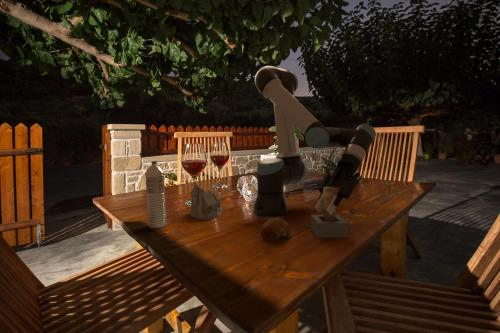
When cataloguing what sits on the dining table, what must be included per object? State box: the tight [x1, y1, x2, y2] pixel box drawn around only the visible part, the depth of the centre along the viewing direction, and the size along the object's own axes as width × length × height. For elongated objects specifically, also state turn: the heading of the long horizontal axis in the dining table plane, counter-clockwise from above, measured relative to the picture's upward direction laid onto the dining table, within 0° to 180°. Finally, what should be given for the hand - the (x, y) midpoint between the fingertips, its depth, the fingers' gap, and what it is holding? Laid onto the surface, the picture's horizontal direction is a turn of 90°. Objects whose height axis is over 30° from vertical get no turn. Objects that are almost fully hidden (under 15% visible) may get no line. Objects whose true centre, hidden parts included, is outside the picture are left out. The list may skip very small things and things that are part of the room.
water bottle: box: [144, 160, 167, 230], centre depth 107 cm, size 7×7×25 cm
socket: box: [310, 213, 349, 239], centre depth 99 cm, size 10×10×5 cm
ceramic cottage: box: [189, 181, 224, 221], centre depth 124 cm, size 16×16×15 cm
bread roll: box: [261, 218, 292, 243], centre depth 96 cm, size 10×10×8 cm
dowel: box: [322, 186, 336, 222], centre depth 98 cm, size 4×4×14 cm
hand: (323, 211), depth 96 cm, fingers closed on dowel, 4 cm apart
